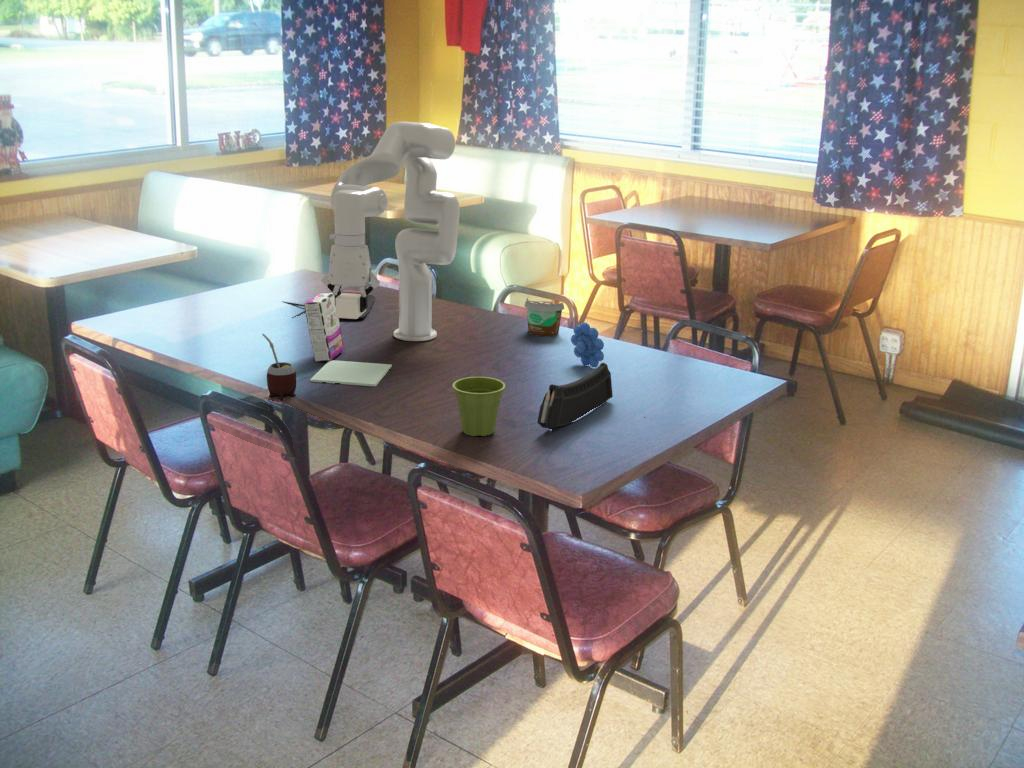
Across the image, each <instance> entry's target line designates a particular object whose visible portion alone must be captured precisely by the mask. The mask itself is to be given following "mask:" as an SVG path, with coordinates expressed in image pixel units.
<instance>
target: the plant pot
mask: <svg viewBox="0 0 1024 768" xmlns="http://www.w3.org/2000/svg"><path fill="white" fill-rule="evenodd" d="M451 386H452V389H454V393H455V397H456V398H457V403H458V410H459V416H460V423H461V428H462V429H461V430H462V432H463V433H464V434H465V435H466V436H467V435H468V436H470V437H477V436H481V437H487V435H488V436H491V435H492V434H494V433H495V428H496V425H497V424H496V423H497V419H498V413H499V412H498V411H499V407H500V401H501V398H502V395H503V392H504V389H505V388H506V384H505V382H503V381H502V380H500V379H498V378H494V377H489V376H469V377H464V378H459V379H457V380H456V381H454V382H453V383H452V385H451Z"/></svg>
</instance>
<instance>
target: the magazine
mask: <svg viewBox="0 0 1024 768" xmlns="http://www.w3.org/2000/svg"><path fill="white" fill-rule="evenodd" d="M608 367H609V366H608V364H607V363H605V362H600V364H599V365H598V366H597V367H595V369H593V370H592V371H590V373H588V374H585V376H583V377H581V378H580V379H577V380H574V381H572V382H569V383H566V384H562V385H561V384H560V385H559V384H558V385H556V384H550V385H549V388H548V391H547V392H546V393H545V394H544V396H543V400H542V402H541V404H540V407H539V412H538V417H537V424H538V425H539V426H541V428H544V429H548V430H549V429H552V430H553V429H556V428H559V426H560V427H562V426H566V425H567V426H568V425H570V424H569V423H571V422H572V421H574V420H576V419H577V418H579V417H581V416H583V415H584V414H586V413H587V412H589V411H590V410H592V409H594V408H596V407H598V406H600V405H601V406H602V405H603V403H604V404H605V403H606V402H607V401H609V400H610V399H612V398H613V397H614V395H613V385H612V374H611V372H610V370H609V368H608ZM601 406H600V407H601ZM571 424H572V423H571ZM553 431H554V430H553Z"/></svg>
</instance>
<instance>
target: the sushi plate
mask: <svg viewBox="0 0 1024 768" xmlns="http://www.w3.org/2000/svg"><path fill="white" fill-rule="evenodd" d="M375 300H376V295H372V294H368V295H367V304H368V306H367V309H366V311H365V312H364V313H363V314H362V315H361V316H360V317H359V318H358V319H364V318H365V317H366V316H367V315H368V313H369V312H370V310H371V308H372V306H373V303H374V302H375ZM281 302H282V303H284V304H288V305H291V306H299V307H304V308H305V306H304V304H302V303H296V302H289V301H281ZM303 313H304V314H306V311H305V310H304V311H301V312H299V313H298V314H296V315H294V316H292V317H291V319H295V318H297V317H299V316H301V314H302V315H304V314H303ZM296 316H297V317H296ZM294 317H295V318H294ZM340 319H341V320H350V319H349V318H339V320H340Z"/></svg>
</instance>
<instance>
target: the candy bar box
mask: <svg viewBox="0 0 1024 768" xmlns="http://www.w3.org/2000/svg"><path fill="white" fill-rule="evenodd" d="M303 305H304V306H305V307H304V306H303V307H304V311H306V313H305V317H306V321H307V327H308V333H309V337H310V342H311V348H312V352H313V359H314V362H329V361H331V360H333V359H335V358H336V357H337V356H338V355H340V353H342V352H343V351H344V350H345V346H344V340H343V335H342V330H341V324H340V323H341V322H340V319H339V318H336V307H335V296H334V295H333V293H332V292H324V293H323V292H321V293H318V294H316V295H315V296H313V297H312V298H311V299H309V300H307V301H306V302H304V303H303Z"/></svg>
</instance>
